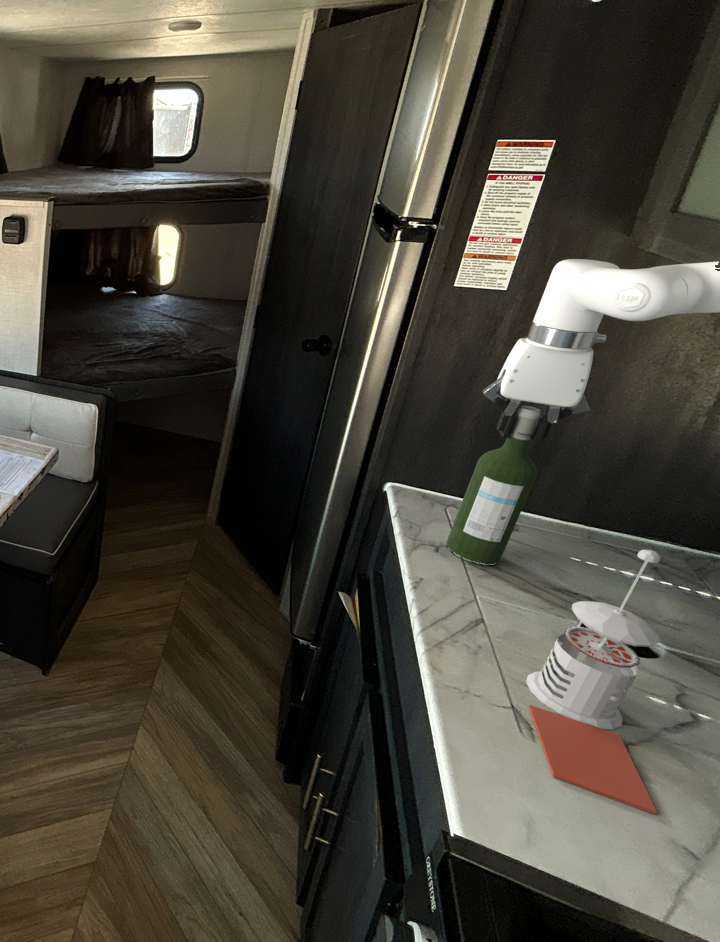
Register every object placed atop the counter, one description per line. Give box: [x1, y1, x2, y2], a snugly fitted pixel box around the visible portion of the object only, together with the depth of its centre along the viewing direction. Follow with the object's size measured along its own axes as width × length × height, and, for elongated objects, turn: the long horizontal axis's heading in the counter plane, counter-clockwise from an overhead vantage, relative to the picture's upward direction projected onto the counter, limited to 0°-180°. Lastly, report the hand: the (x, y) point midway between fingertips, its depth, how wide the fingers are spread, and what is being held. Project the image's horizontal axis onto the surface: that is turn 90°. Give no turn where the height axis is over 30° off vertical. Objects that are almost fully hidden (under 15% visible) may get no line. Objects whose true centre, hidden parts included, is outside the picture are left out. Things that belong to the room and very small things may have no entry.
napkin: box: [528, 704, 658, 815], centre depth 80 cm, size 9×12×1 cm
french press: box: [525, 549, 662, 730], centre depth 84 cm, size 10×12×25 cm
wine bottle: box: [446, 405, 542, 567], centre depth 113 cm, size 8×8×30 cm
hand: (519, 436), depth 109 cm, fingers open, 3 cm apart
